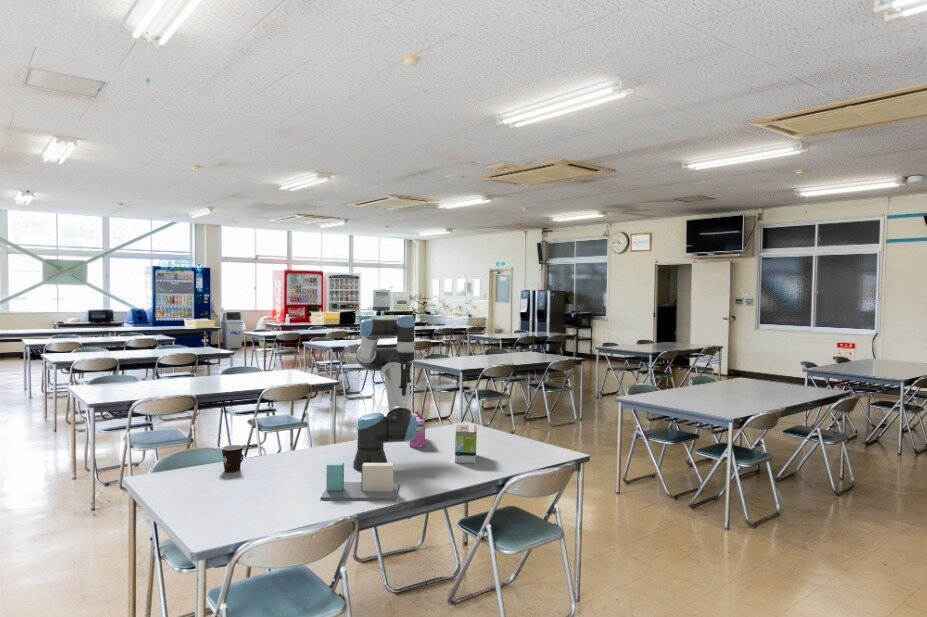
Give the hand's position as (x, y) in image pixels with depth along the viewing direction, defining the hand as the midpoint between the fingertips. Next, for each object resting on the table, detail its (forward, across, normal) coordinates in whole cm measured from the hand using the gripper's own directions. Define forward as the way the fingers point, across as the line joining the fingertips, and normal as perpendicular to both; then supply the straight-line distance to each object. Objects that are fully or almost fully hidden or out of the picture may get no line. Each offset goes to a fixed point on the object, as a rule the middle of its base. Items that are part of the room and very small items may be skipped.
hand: (405, 400), depth 256 cm
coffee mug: (+32, +1, +75) cm, 82 cm away
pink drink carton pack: (+32, +54, 0) cm, 63 cm away
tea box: (+32, +23, -27) cm, 48 cm away
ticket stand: (+32, -25, +15) cm, 43 cm away
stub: (+30, -25, +25) cm, 47 cm away
